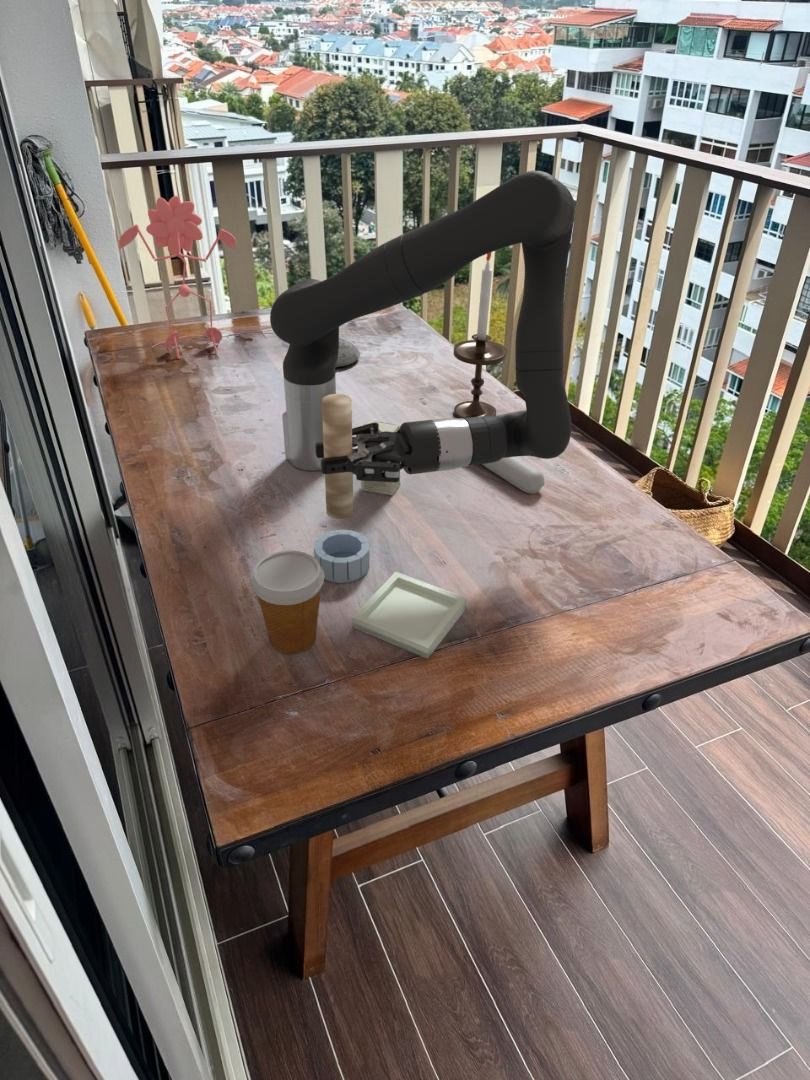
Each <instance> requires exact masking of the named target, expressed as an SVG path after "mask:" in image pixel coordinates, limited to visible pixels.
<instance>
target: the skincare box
mask: <svg viewBox="0 0 810 1080" xmlns="http://www.w3.org/2000/svg"><path fill="white" fill-rule="evenodd" d="M374 422H375V423H378V424H379V430H380V431H382V432H384V431H388V432H397V431H398V430H399V429H400V426H401V425H400V424H394V423H389V422H382V421H376V420H375V421H374V420H370V419H369V420H367V421H365V423H364V424H363V425H366V424H370V423H374ZM364 449H365V444H363V450H364ZM361 461H363V460H361ZM365 473H367V472H365ZM383 473H384V471H383ZM367 474H368V473H367ZM369 474H374V472H373V473H369ZM360 483H361V490H362V491H366V492H370V493H376V494H382V495H387V496H394V495H395V493H396V491H397V490H398V488H399V487H400V486H401V475H400V476H399V482H378V481H360Z"/></svg>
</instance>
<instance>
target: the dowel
mask: <svg viewBox="0 0 810 1080" xmlns="http://www.w3.org/2000/svg"><path fill="white" fill-rule="evenodd" d="M352 400H353V399H352V398H351V397H350V396H348V395H346V394H343V393H342V394H341V393H336V394H331V395H327V396H325V397H324V398H323V399H322V419H323V443H324V458H329V457H340V456H347V457H348V459H349V456H351V455H352V449H353V448H352V437H353V436H352V428H353V409H352V404H353V402H352ZM353 475H354V474H350V473H349V472H343V473H334V474H324V487H325V489H324V490H325V509H326V510H325V511H326V514H327V516H328V517H330V518H331V519H333V520H334V519H335V520H345V519H347V518H349V517H352V515H353V514H354V477H353Z"/></svg>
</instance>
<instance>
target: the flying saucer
mask: <svg viewBox="0 0 810 1080" xmlns="http://www.w3.org/2000/svg"><path fill="white" fill-rule="evenodd" d="M360 357H361V352H360V350H359V349H358V347H357V346H356V345H354V343H353V342H351V341H348V340H347V339H344V338H340V337H339V353H338V359H337V362H336V366H335V368H340V367H342V368H343V367H345V366H348V365H351V364H353V363H355V362H356V361H358V360H359V359H360Z"/></svg>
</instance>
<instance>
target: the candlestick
mask: <svg viewBox="0 0 810 1080" xmlns="http://www.w3.org/2000/svg"><path fill="white" fill-rule="evenodd" d="M491 257H492V252H490V253H488V254H486V263H485V266H484V268H482V271H481V281H480V282H481V284H480V295H479V296H480V297H479V304H478V305H479V307H478V318H477V330H476V331H477V332H476V333H475V334H473V335H471V338H472V339H469V340H463V341H461V342H458V343H456V344H455V345H454V346H453V351H452V353H453V357H454V358H455V359H456V360H458V361H460V362H462V363H465V364H470V365H475V372H474V377H473V378H472V379H471V380H470V383H471V385H472V386H473V389H471V390H470V394H471V395H472V400H466V401H462V402H460V403H459V402H458V404H456V405H455V406H454V407H453V415H454V418H470V417H480V416H497V409H496V408H495V406H493V405H492V404H490V403H487V402H485V401H484V402H483V401H480V397H481V396H482V395H483V390H482V387H483V386H484V384H485V379H483V378H482V375H483V373H482V372H483V366H493V365H497V364H501V363H502V362H504V361H505V360H506V359H507V355H508V349H507V348H506V347H505V346H504V345H502V344H500V343H497V342H495V341H490V340H492V337H491V336H490V335H488V333H487V330H488V322H489V321H488V320H489V319H488V318H489V311H490V310H489V308H490V297H491V288H492V274H493V269H492V268H491V265H490V260H491Z"/></svg>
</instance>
